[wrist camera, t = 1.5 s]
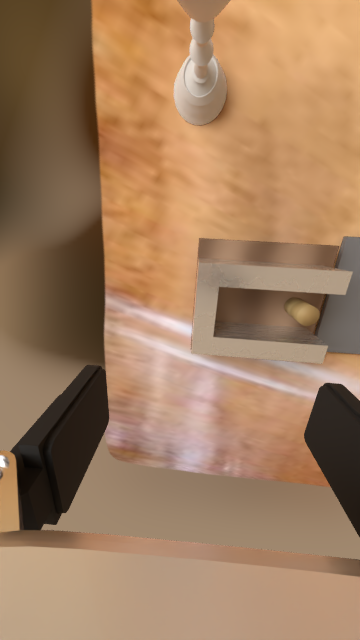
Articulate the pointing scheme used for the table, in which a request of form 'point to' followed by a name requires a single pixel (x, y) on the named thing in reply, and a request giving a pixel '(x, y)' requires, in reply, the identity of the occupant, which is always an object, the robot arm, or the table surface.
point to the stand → (268, 303)
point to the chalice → (201, 66)
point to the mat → (343, 305)
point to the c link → (257, 337)
